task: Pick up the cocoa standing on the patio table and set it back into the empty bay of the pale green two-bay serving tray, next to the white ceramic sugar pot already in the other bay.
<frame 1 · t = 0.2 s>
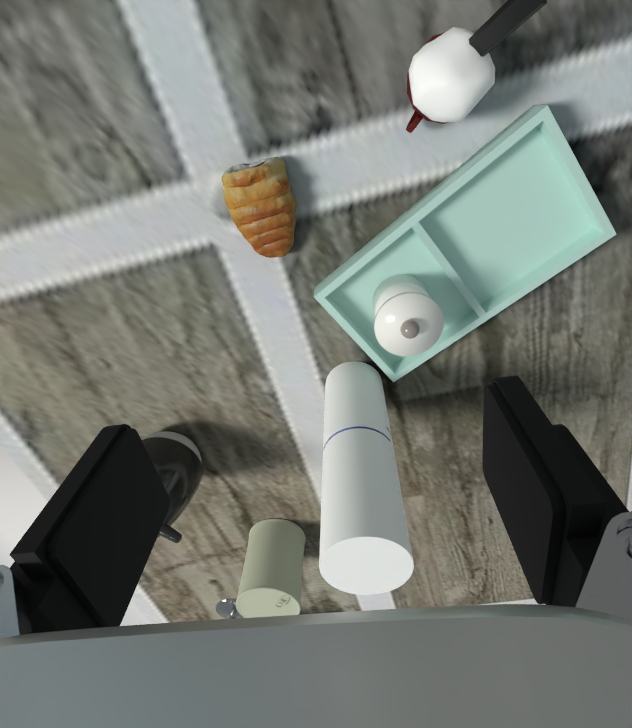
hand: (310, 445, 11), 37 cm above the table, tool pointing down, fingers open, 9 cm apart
cylindrical container: (353, 384, 54), on the table
can: (277, 536, 70), on the table
wine glass: (234, 608, 81), on the table
pastry: (265, 201, 44), on the table
sugar pot: (399, 300, 47), point 1 cm above the table, touching tray
tray: (450, 258, 45), on the table
cocoa: (440, 79, 38), on the table
black egg-shaped piece: (175, 447, 61), on the table
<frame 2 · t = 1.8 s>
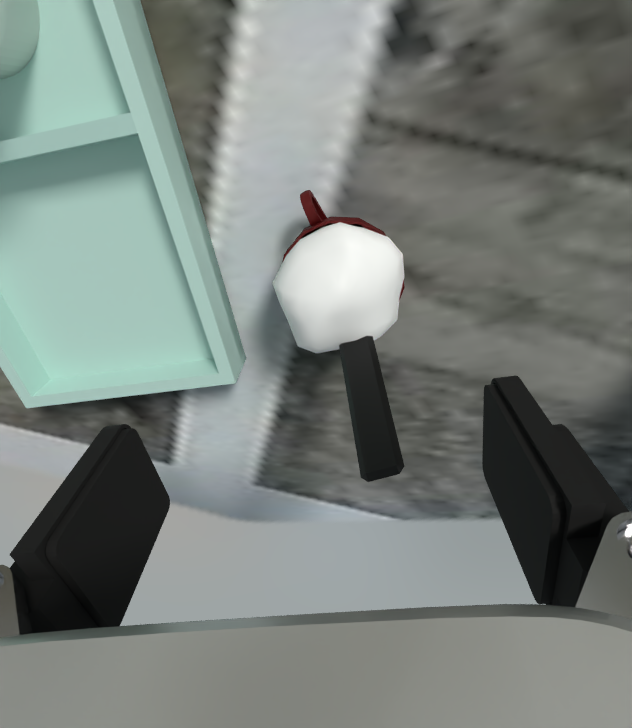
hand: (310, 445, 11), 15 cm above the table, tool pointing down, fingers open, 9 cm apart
tray: (56, 162, 23), on the table
cocoa: (341, 266, 25), on the table
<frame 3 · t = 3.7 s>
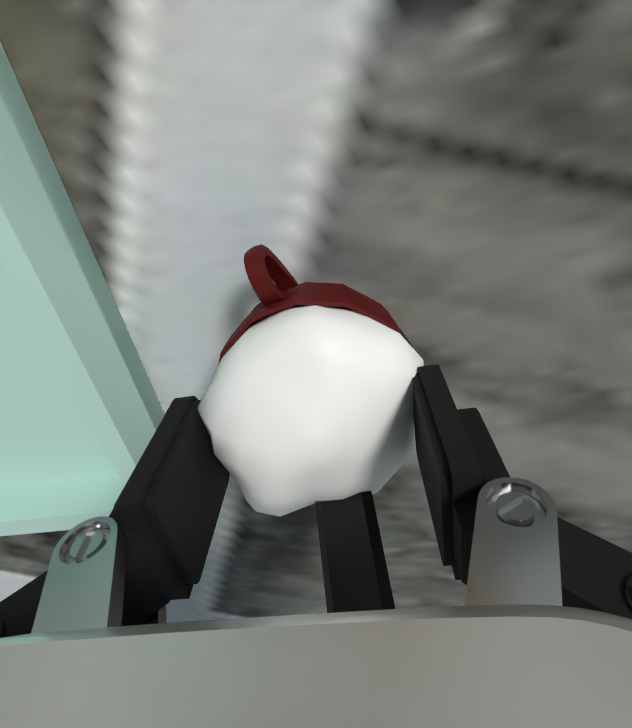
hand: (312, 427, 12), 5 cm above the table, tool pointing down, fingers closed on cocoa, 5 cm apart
cocoa: (320, 346, 16), on the table, touching gripper
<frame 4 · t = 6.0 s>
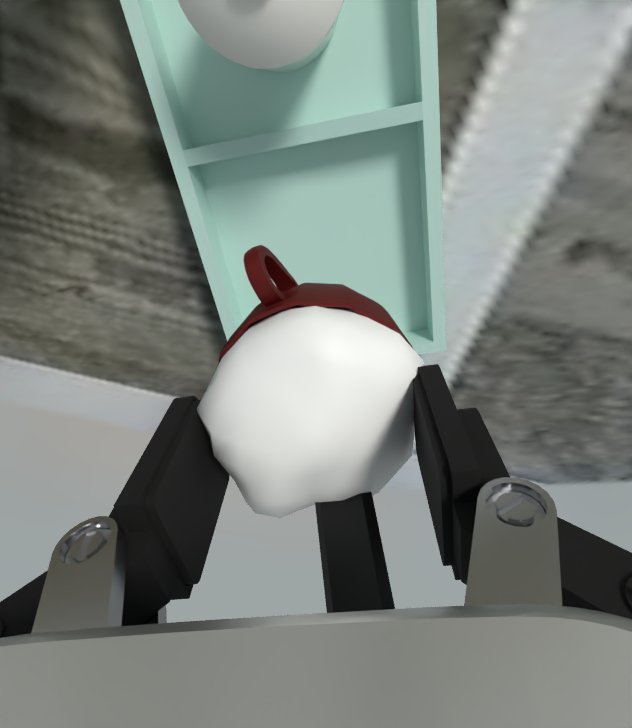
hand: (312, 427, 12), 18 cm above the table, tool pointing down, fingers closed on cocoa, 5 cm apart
tray: (306, 148, 25), on the table
cocoa: (320, 347, 16), point 13 cm above the table, touching gripper
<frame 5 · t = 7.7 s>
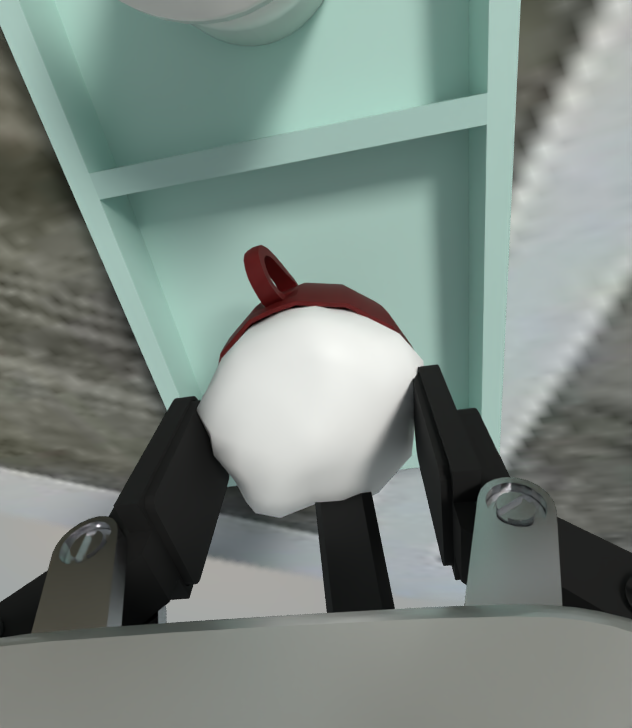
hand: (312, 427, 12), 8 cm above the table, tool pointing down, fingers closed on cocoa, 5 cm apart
tray: (293, 167, 16), on the table
cocoa: (320, 347, 16), point 3 cm above the table, touching gripper
when the fingers open (7 cm above the table, at t = 8.7 s): cocoa drops 2 cm, resting on tray.
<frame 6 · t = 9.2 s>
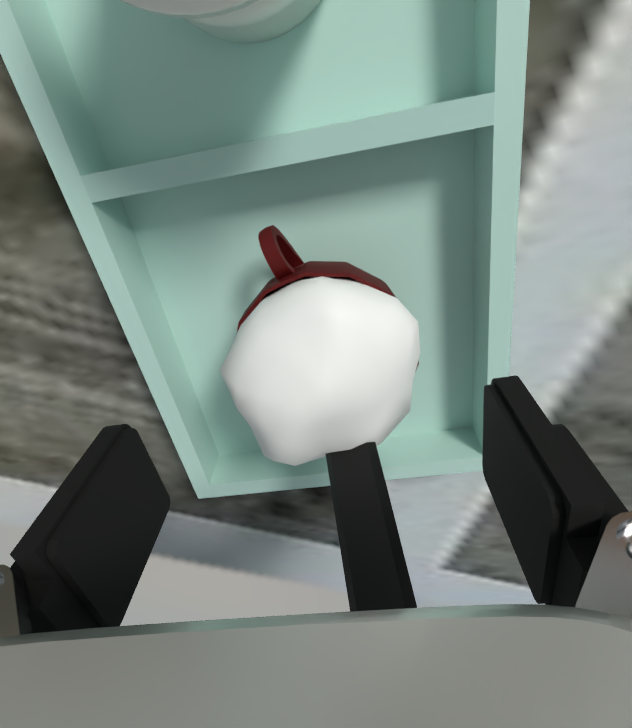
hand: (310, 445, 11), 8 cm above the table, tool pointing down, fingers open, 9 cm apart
tray: (292, 169, 16), on the table
cocoa: (325, 323, 18), point 1 cm above the table, touching tray
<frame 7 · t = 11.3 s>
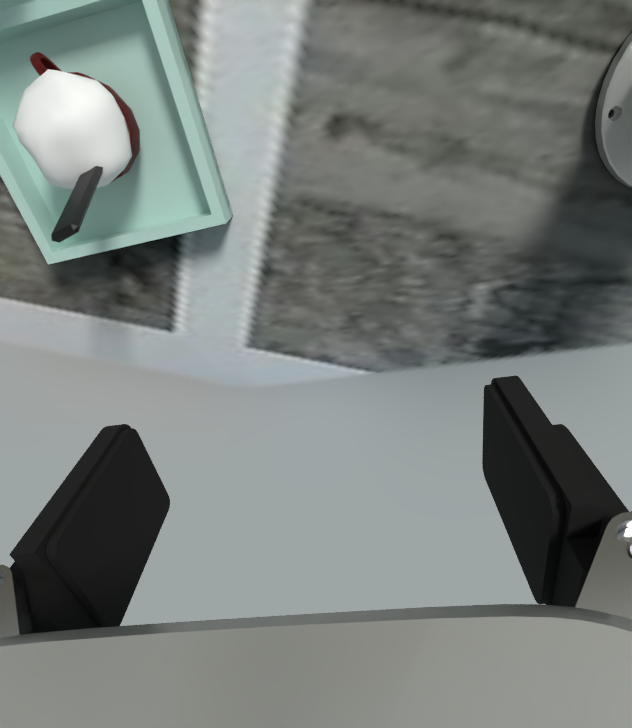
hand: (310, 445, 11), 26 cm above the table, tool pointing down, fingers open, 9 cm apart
tray: (68, 35, 28), on the table
cocoa: (107, 135, 30), point 1 cm above the table, touching tray
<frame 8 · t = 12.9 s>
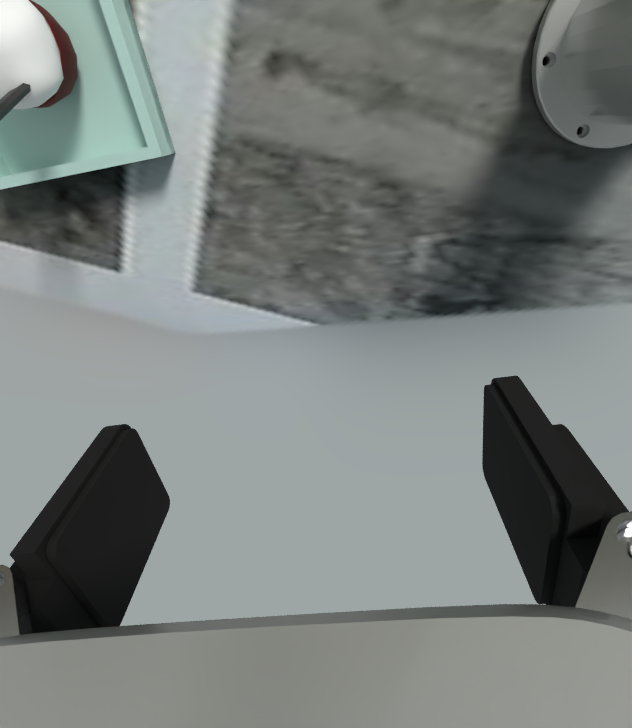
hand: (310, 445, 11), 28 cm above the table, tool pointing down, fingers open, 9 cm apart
cocoa: (48, 62, 30), point 1 cm above the table, touching tray
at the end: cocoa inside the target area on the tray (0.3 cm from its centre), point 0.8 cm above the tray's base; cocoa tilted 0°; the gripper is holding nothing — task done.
